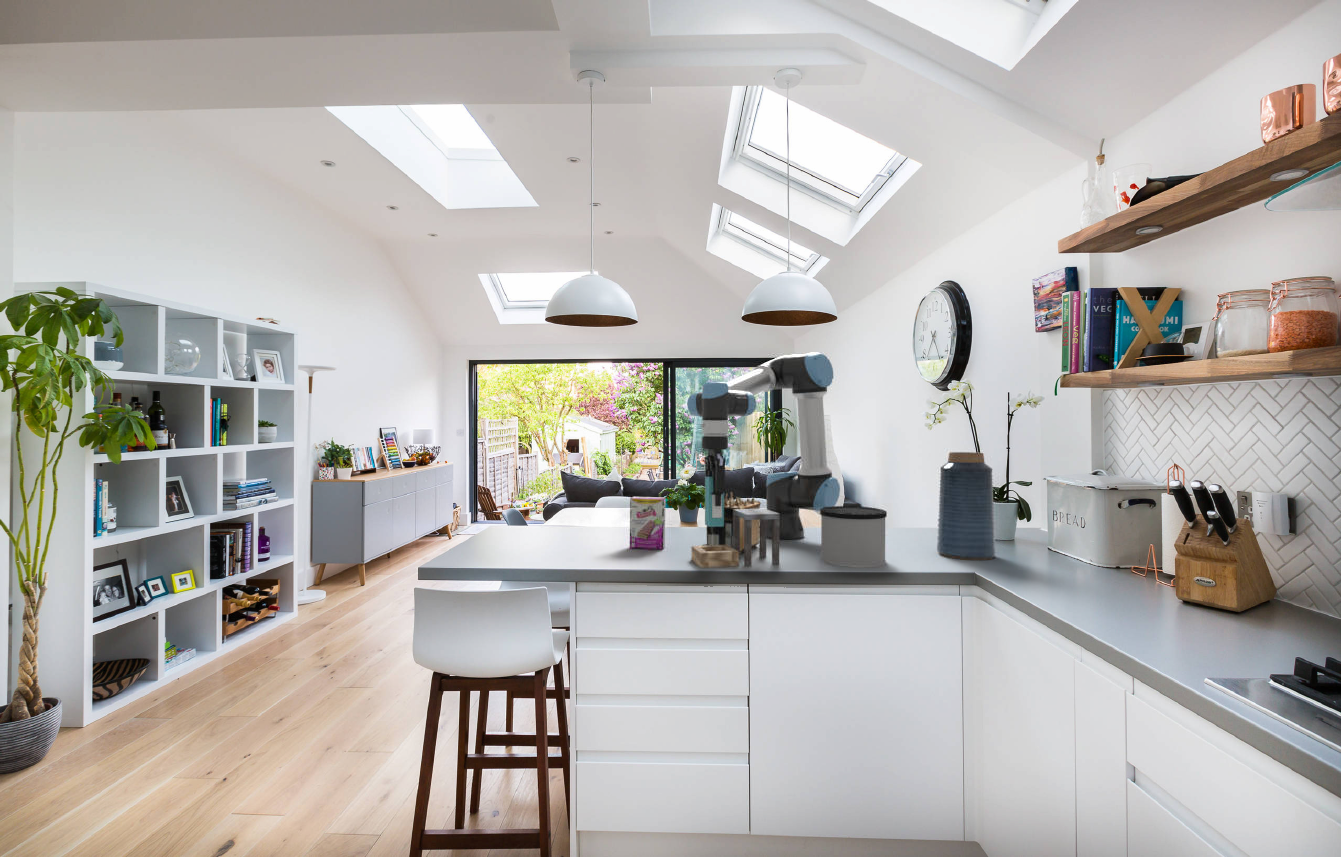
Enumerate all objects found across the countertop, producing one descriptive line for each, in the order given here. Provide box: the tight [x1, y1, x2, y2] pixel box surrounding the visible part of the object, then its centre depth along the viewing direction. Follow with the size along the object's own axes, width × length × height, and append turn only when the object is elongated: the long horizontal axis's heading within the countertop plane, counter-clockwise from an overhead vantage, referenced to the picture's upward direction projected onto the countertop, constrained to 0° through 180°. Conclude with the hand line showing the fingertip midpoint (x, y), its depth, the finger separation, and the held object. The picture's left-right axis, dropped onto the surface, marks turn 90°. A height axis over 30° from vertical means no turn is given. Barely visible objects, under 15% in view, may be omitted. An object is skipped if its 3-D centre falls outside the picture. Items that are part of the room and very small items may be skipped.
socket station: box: [691, 508, 780, 568], centre depth 186 cm, size 23×12×14 cm, turn 102°
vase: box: [936, 451, 996, 561], centre depth 196 cm, size 16×16×32 cm
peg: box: [704, 476, 725, 527], centre depth 184 cm, size 4×4×14 cm
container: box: [819, 505, 888, 568], centre depth 188 cm, size 19×19×15 cm
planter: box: [701, 491, 761, 556], centre depth 205 cm, size 25×25×19 cm
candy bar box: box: [629, 496, 666, 550], centre depth 207 cm, size 11×5×16 cm, turn 84°
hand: (714, 516), depth 184 cm, fingers closed on peg, 4 cm apart
